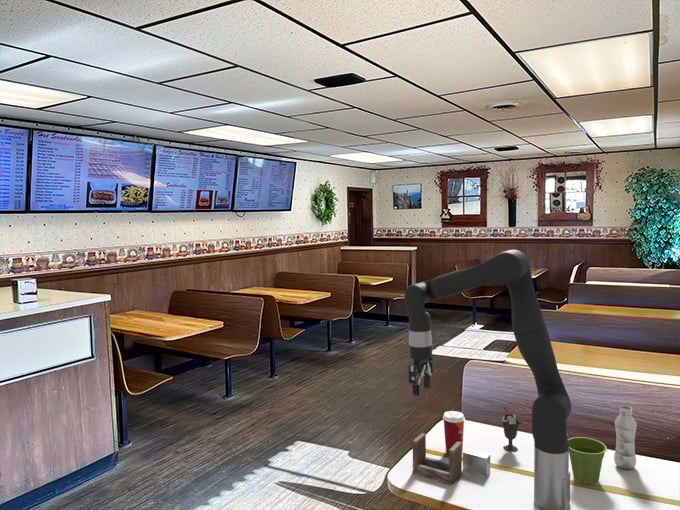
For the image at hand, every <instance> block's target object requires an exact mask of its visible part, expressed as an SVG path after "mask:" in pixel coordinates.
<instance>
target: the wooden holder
mask: <svg viewBox="0 0 680 510" xmlns="http://www.w3.org/2000/svg"><path fill="white" fill-rule="evenodd" d="M426 435H427V433H423V432H421V433H420V434H419V435H418V436H416V437H415V438H414V439H413V440H412V470H411V473H412V475H416V476H418V477H422V478H425V479H429V480H433V481H436V482H439V483H442V484H447V485H449V486H454V485H455V484H456V483H457V482H458V480H459V479H460V478H461V477H462V476H463V449H462V446H461V442H458V441H457V442H456V443H455V444H454V445H453V446H452V447H451V448H450V449H449V455H448V462H447V461H443V460H439V459H437V458H432V457H429V456H428V457H427V452H426V451H427V445H426V443H427V442H426V440H427V439H426Z"/></svg>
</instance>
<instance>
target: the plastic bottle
mask: <svg viewBox="0 0 680 510" xmlns="http://www.w3.org/2000/svg"><path fill="white" fill-rule="evenodd" d="M632 415H633V408H632V407H631V406H629V405H628V406H627V405H620V406H619V415H618V416H617V417H616V418H615V421H614V428H615V438H616V439H615V440H616V441H615V442H616V443H615V444H616V445H615V451H614V454H613V460H614V464H615V465H616V466H617V467H619V468H620V469H623V470H632V469H634V468H635V467H636V464H637V456H636V450H635V446H636V445H635V441H636V440H635V439H636V434H637V428H638V427H637V426H638V424H637V421H636V419H635V417H633V416H632Z"/></svg>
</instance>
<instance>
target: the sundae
mask: <svg viewBox="0 0 680 510" xmlns="http://www.w3.org/2000/svg"><path fill="white" fill-rule="evenodd" d="M503 409H504V410H505V413H504V416H503V417H502V419H501V420H500V422H501V424H502V426H503V433H504V437H506V439H507V440H508V444H507V445H504V446H503V450H505V451H506V452H510V453H514V452H517V451H518V448H517V447H516V446H515V445H513V440H514V439H516V438H517V435H518V428H519V425H521V421H520V416H518V418H517V417H516V415H515V414H513V413H511V412H509V410H508V409H507V408H506V407H505V408H503ZM507 412H508V413H507Z"/></svg>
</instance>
